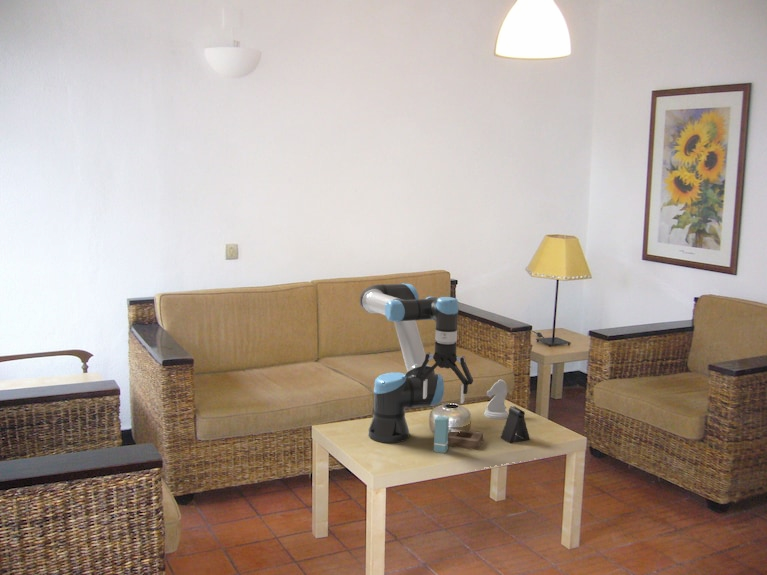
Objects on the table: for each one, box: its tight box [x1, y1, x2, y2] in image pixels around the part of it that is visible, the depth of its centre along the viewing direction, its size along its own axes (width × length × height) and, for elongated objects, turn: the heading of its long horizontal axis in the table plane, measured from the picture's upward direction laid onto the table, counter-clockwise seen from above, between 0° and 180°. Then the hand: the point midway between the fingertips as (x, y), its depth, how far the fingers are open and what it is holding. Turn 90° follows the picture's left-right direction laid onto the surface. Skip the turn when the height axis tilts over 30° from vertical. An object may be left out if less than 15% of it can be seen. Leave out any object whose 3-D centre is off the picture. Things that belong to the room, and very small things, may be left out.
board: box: [448, 429, 484, 450], centre depth 288 cm, size 12×10×3 cm
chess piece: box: [483, 379, 509, 420], centre depth 319 cm, size 10×10×15 cm
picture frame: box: [500, 405, 531, 444], centre depth 293 cm, size 9×6×12 cm, turn 114°
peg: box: [433, 415, 450, 454], centre depth 279 cm, size 4×4×12 cm
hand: (443, 400), depth 278 cm, fingers open, 13 cm apart
